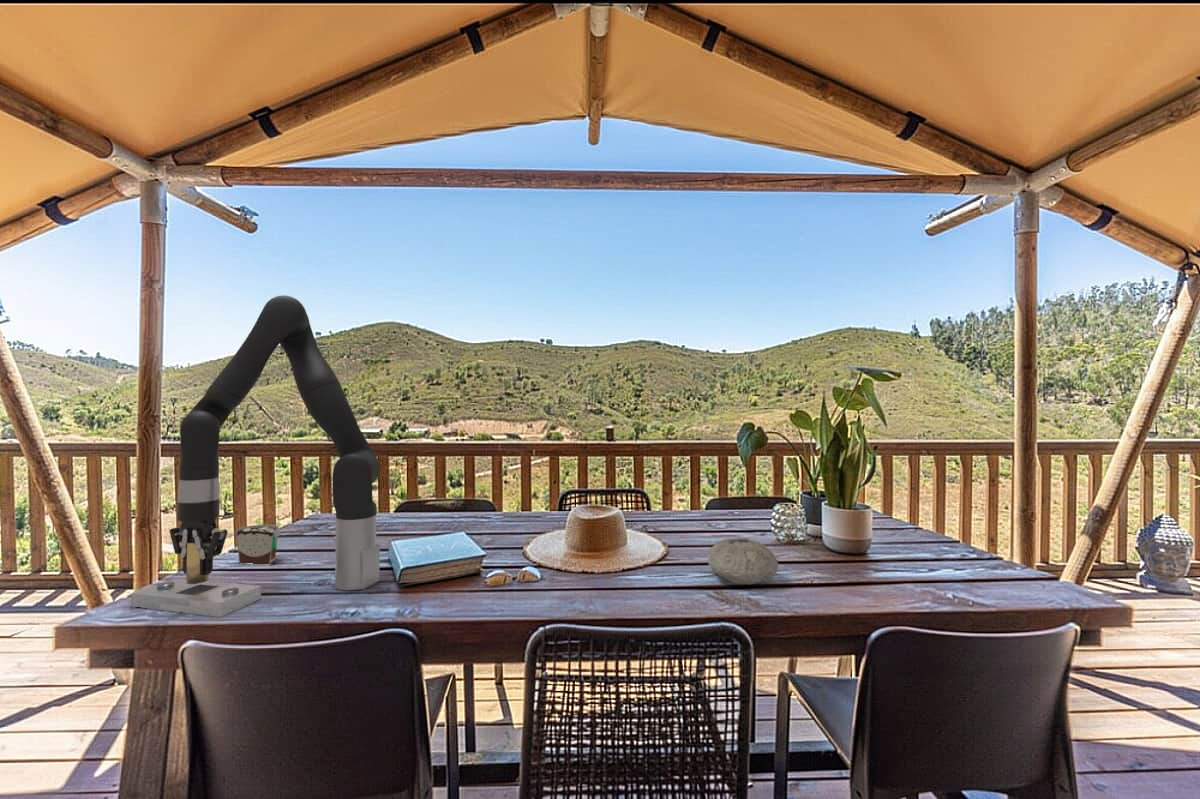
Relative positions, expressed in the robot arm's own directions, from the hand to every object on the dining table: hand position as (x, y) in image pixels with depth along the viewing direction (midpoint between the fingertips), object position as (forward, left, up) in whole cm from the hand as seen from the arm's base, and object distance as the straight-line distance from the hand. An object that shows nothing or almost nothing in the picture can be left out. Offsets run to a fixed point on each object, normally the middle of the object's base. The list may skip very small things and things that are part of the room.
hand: (197, 573), depth 113 cm
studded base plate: (0, 0, -7) cm, 7 cm away
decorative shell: (-123, -43, -7) cm, 131 cm away
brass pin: (0, 0, -2) cm, 2 cm away
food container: (+11, -28, -7) cm, 31 cm away
